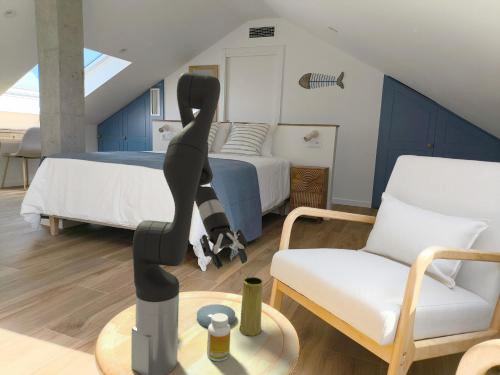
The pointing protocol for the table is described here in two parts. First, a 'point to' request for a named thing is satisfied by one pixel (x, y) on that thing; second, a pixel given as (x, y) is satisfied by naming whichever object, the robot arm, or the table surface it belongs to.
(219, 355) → the supplement bottle
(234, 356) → the table surface
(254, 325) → the vase
